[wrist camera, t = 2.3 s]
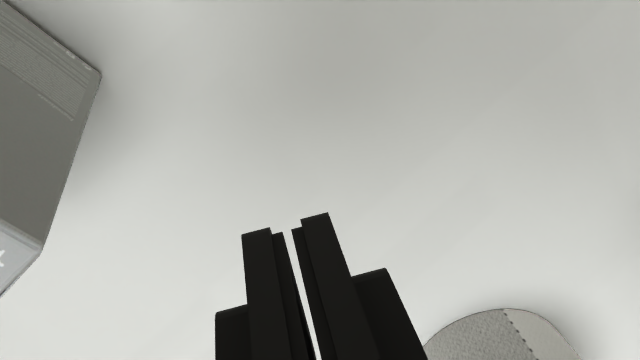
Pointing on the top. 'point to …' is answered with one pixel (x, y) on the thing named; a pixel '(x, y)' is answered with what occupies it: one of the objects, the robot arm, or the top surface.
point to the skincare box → (35, 135)
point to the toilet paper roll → (500, 338)
